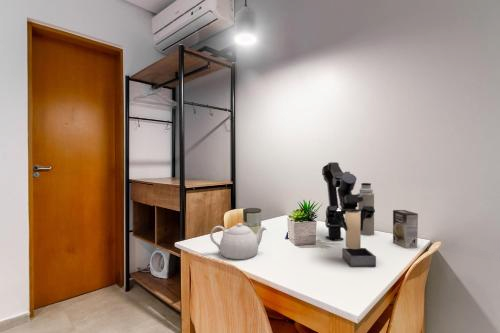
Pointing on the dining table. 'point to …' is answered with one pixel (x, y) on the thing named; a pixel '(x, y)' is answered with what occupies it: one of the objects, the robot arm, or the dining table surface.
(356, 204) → the robot arm
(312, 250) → the dining table surface
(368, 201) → the thermos bottle
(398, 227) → the coffee box
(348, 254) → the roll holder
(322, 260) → the dining table surface
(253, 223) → the coffee can
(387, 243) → the dining table surface
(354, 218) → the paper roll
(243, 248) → the teapot
